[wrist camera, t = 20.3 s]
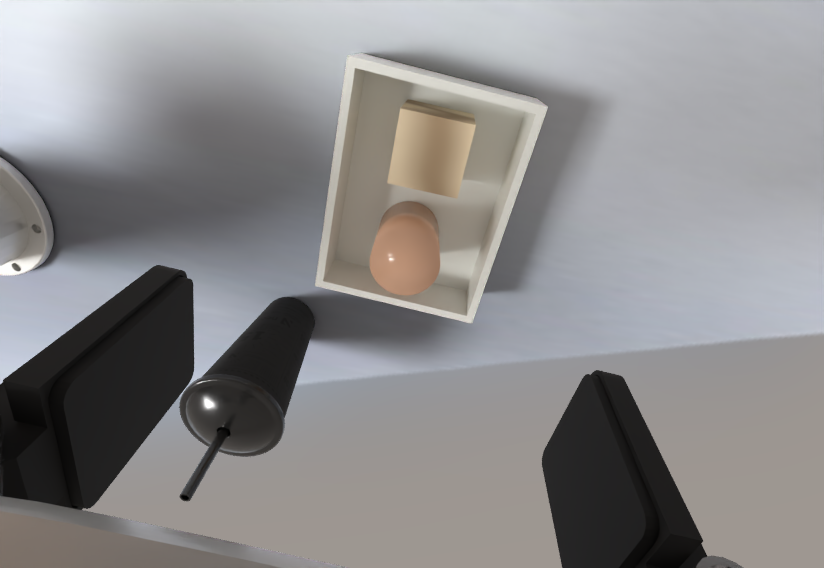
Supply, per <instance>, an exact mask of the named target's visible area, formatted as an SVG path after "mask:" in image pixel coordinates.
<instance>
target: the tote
mask: <svg viewBox="0 0 824 568" xmlns="http://www.w3.org/2000/svg"><path fill="white" fill-rule="evenodd" d="M407 99H409V100H414V101H418V102H423V103H427V104H432V105H436V106H440V107H445V108H449V109H454V110H458V111H463V112H467V113H471V114H474V118H475V122H476V128H475V132H474V136H473V139H472V143H471V147H470V151H469V155H468V159H467V163H466V167H465V170H464V174H463V178H462V182H461V186H460V190H459V194H458V198H457V199H456V198H452V197H447V196H443V195H438V194H434V193H429V192H425V191H420V190H416V189H411V188H407V187H402V186H398V185H393V184H389V183H387V181H388V175H389V169H390V164H391V158H392V152H393V147H394V141H395V135H396V130H397V124H398V118H399V113H400V108H401V107H402V106H403V104H404V103H405V102H406V101H407ZM547 109H548V106H546V105H545V104H544V103H542V102H541V101H540V100H538V99H537V98H534V97H531V96H527V95H523V94H519V93H515V92H511V91H507V90H503V89H500V88H496V87H492V86H488V85H484V84H480V83H476V82H472V81H468V80H465V79H461V78H457V77H453V76H449V75H445V74H441V73H437V72H434V71H430V70H426V69H422V68H418V67H414V66H410V65H406V64H403V63H399V62H395V61H391V60H387V59H383V58H379V57H375V56H371V55H368V54H364V53H359V54H352V55H347V61H346V68H345V75H344V82H343V89H342V96H341V103H340V111H339V118H338V125H337V132H336V139H335V146H334V153H333V160H332V168H331V175H330V182H329V189H328V196H327V203H326V210H325V217H324V225H323V232H322V239H321V246H320V253H319V260H318V267H317V274H316V282H315V286H318V287H322V288H326V289H330V290H334V291H338V292H343V293H347V294H351V295H355V296H359V297H363V298H367V299H372V300H376V301H380V302H384V303H388V304H392V305H397V306H401V307H405V308H409V309H413V310H417V311H421V312H426V313H430V314H434V315H438V316H442V317H446V318H450V319H455V320H459V321H463V322H467V323H471V324H472V322H473V319H474V316H475V314H476V311H477V308H478V305H479V302H480V299H481V297H482V294H483V291H484V288H485V285H486V282H487V280H488V277H489V274H490V271H491V268H492V265H493V262H494V260H495V257H496V254H497V251H498V248H499V245H500V243H501V240H502V237H503V234H504V231H505V228H506V226H507V223H508V220H509V217H510V214H511V211H512V209H513V206H514V203H515V200H516V197H517V194H518V191H519V189H520V186H521V183H522V180H523V177H524V174H525V172H526V169H527V166H528V163H529V160H530V157H531V155H532V152H533V149H534V146H535V143H536V140H537V138H538V135H539V132H540V129H541V126H542V123H543V121H544V118H545V115H546V112H547ZM404 201H413V202H418V203H420V204H423V205H424V206H426V207H427V208H429V209H430V210H431V211H432V212H433V214H434V215H435V217H436V219H437V222H438V226H439V246H440V270H439V274H438V276H437V278H436V280H435V281H434V283H433V284H432V285H431V286H430V287H429V288H427V289H426V290H424V291H422V292H420V293H418V294H414V295H397V294H394V293H391V292H389V291H387V290H385V289H384V288H382V287H381V286H380V285H379V284H378V283H377V282H376V281H375V279H374V277H373V275H372V273H371V270H370V255H371V251H372V248H373V245H374V241H375V238H376V235H377V231H378V228H379V225H380V221H381V219H382V216H383V215H384V213H385V212H386V211H387V210H388V209H389V208H390V207H391V206H393V205H395V204H397V203H400V202H404Z"/></svg>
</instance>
